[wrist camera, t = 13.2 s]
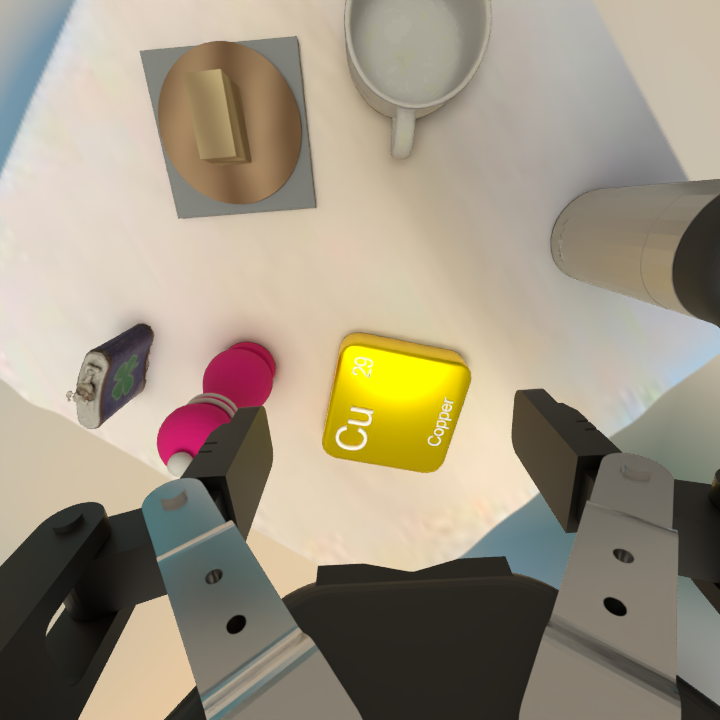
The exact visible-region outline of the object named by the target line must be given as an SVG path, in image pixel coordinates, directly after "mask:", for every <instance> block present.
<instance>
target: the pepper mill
mask: <svg viewBox="0 0 720 720" xmlns="http://www.w3.org/2000/svg"><path fill="white" fill-rule="evenodd" d="M274 375H275V363H274V360H273V358H272V356H271V354H270V353H269V352H268V351H267V350H266V349H265V348H263V347H262V346H260V345H258V344H255V343H251V342H242V343H238V344H235V345H233V346H232V347H231V348H229V349H228V350H227V351H224V352H222V353H220V354H218V355H217V356H216V357H214V359H213V360H212V361H211V362H210V364H209V365H208V367H207V368H206V370H205V373H204V377H203V394H200V395H198V396H196V397H194V398H193V399H192V400H190V402H189V403H188V404H187V405H185V406H182V407H180V408H178V409H176V410H175V411H173V412H172V413H171V414H170V415H169V416H168V417H167V418H166V419H165V421H164V422H163V424H162V425H161V427H160V429H159V433H158V436H157V448H158V452H159V455H160V458H161V459H162V461H163V462H164V464H165V465H166V466H167V468H168V471H169V472H170V473H171V474H172V475H173V476H176V477H181V476H182V475H183V473H184V472H185V470H186V469H187V467H188V466H189V464H190V463H191V461H192V460H193V458H194V457H195V455H196V454H197V453H198V451H199V449H200V448H201V446H202V445H204V442H205V440H206V439H207V437H208V436H209V434H210V433H211V432H212V431H214V430H215V429H216V428H218V427H219V426H220V425H222V424H223V423H230V421H231V419H232V418H233V416H234V415H235V413H236V411H237V410H238V408H239V407H252V406H262V405H263V404H264V403H265V401H266V400H267V398H268V397H269V395H270V393H271V390H272V384H273V378H274Z"/></svg>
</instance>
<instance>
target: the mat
mask: <svg viewBox="0 0 720 720" xmlns="http://www.w3.org/2000/svg"><path fill="white" fill-rule="evenodd" d="M233 43H237V44H240V45H244V46H246V47H248V48H250V49H253V50H254V51H256V52H257V53H259V54H261V55H262V56H263V57H265V58H266V59H267V60H268V61H269V62H271V64H272V65H273V66H274V67H275V68H276V69H277V70H278V71H279V72H280V74H281V75H282V77H283V78H284V79H285V81H286V83H287V84H288V86H289V88H290V90H291V92H292V93H293V96H294V98H295V101H296V103H297V106H298V110H299V113H300V119H301V127H302V143H301V149H300V155H299V158H298V161H297V164H296V166H295V169H294V171H293V173H292V174H291V176H290V178H289V179H288V180H287V182H286V183H285V184H284V185H283V186H282V187H281V188H280V189H279V190H278V191H277V192H276V193H274V194H273V195H271V196H270V197H268V198H266V199H264V200H261V201H258V202H255V203H250V204H229V203H224V202H220V201H217V200H214V199H212V198H209V197H207V196H205V195H204V194H202V193H200V192H199V191H197V190H196V189H195V188H193V187H192V186H191V185H190V184H189V183H188V182H187V181H185V179H184V178H183V177H182V176H181V175H180V174H179V173H178V171H177V170H176V168H175V167H174V165H173V164H172V162H171V160H170V158H169V157H168V155H167V152H166V150H165V147H164V145H163V142H162V138H161V135H160V129H159V123H158V102H159V97H160V92H161V88H162V85H163V82H164V80H165V78H166V76H167V73H168V72H169V70H170V69H171V67H172V66H173V64H174V63H175V62H176V61H177V60H178V59H179V58H180V57H181V56H182V55H183V54H185V53H186V52H187V51H189V50H191V49H192V48H194V47H196V46H187V47H176V48H166V49H155V50H144V51H140V55H141V59H142V63H143V68H144V72H145V76H146V81H147V85H148V89H149V94H150V98H151V102H152V107H153V111H154V115H155V120H156V124H157V128H158V133H159V137H160V141H161V146H162V150H163V154H164V159H165V163H166V167H167V172H168V176H169V180H170V185H171V189H172V193H173V198H174V202H175V206H176V211H177V215H178V219H179V218H193V217H205V216H218V215H230V214H242V213H255V212H267V211H279V210H292V209H304V208H316V202H315V192H314V183H313V174H312V165H311V155H310V146H309V137H308V128H307V118H306V109H305V100H304V90H303V81H302V72H301V63H300V53H299V44H298V39H297V36H294V37H283V38H273V39H262V40H251V41H241V42H233ZM198 46H199V45H198Z"/></svg>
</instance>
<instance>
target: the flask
mask: <svg viewBox="0 0 720 720" xmlns="http://www.w3.org/2000/svg"><path fill="white" fill-rule="evenodd" d="M153 337H154V334H153V331H152V329H151V327H150V326H147V325H145V324H137V325H136V326H134V327H133V328H131V329H129V330H127V331H125V332H123V333H122V334H120V335H119V336H117V337H115V338H113V339H111V340H110V341H108V342H106V343H104V344H102V345H101V346H99V347H97V348H95V349H93V350H91V351H90V352H88V353H87V354H86V356H85V359H84V362H83V364H82V367H81V370H80V373H79V376H78V382H77V389H76V392H75V393H74V396H72V397H73V401H74V402H76V403H77V414H78V420H79V422H80V424H81V425H83V426H84V427H86V428H88V429H96V428H99V427H100V426H101V425H102V424H103V423H104V422H105V421H106V420H107V419H108V418H109V417H111V416H112V415H113V414H114V413H115V412H117V411H118V410H119V409H121V408H122V407H123V406H124V405H125V404H126V403H128V402H129V401H130V400H131V399H133V398H134V397H135V396H137V395H138V394H139V393H141V391H142V390H143V388H144V386H145V383H146V380H145V376H146V371H147V370H148V367H149V361H148V354H151V353H150V350H149V349H150V346H151V345H153V344H152V341H153ZM72 394H73V393H72V391H69V392H67V394H66V397H67V398H68V401H71V400H70V399H69V398H70V397H71V395H72Z"/></svg>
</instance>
